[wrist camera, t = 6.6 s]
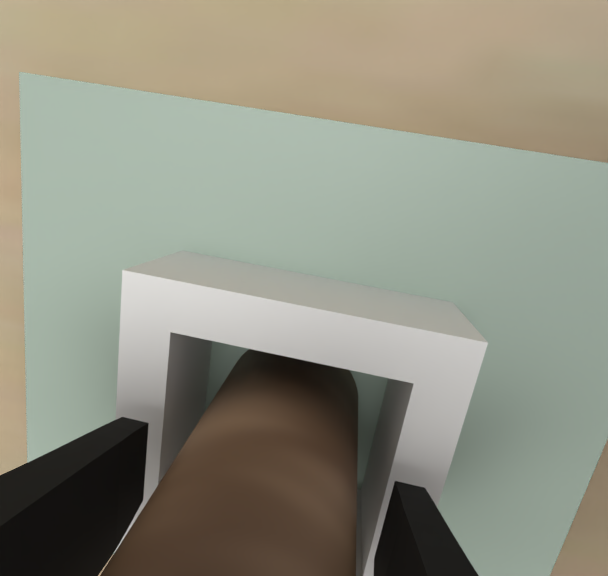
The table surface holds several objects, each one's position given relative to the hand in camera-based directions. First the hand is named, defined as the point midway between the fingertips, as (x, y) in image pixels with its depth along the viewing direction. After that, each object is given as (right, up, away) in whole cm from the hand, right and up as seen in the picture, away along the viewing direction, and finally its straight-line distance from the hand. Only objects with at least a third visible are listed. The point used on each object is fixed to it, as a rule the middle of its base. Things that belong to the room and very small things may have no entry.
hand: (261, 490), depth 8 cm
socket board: (+1, +1, +5) cm, 5 cm away
